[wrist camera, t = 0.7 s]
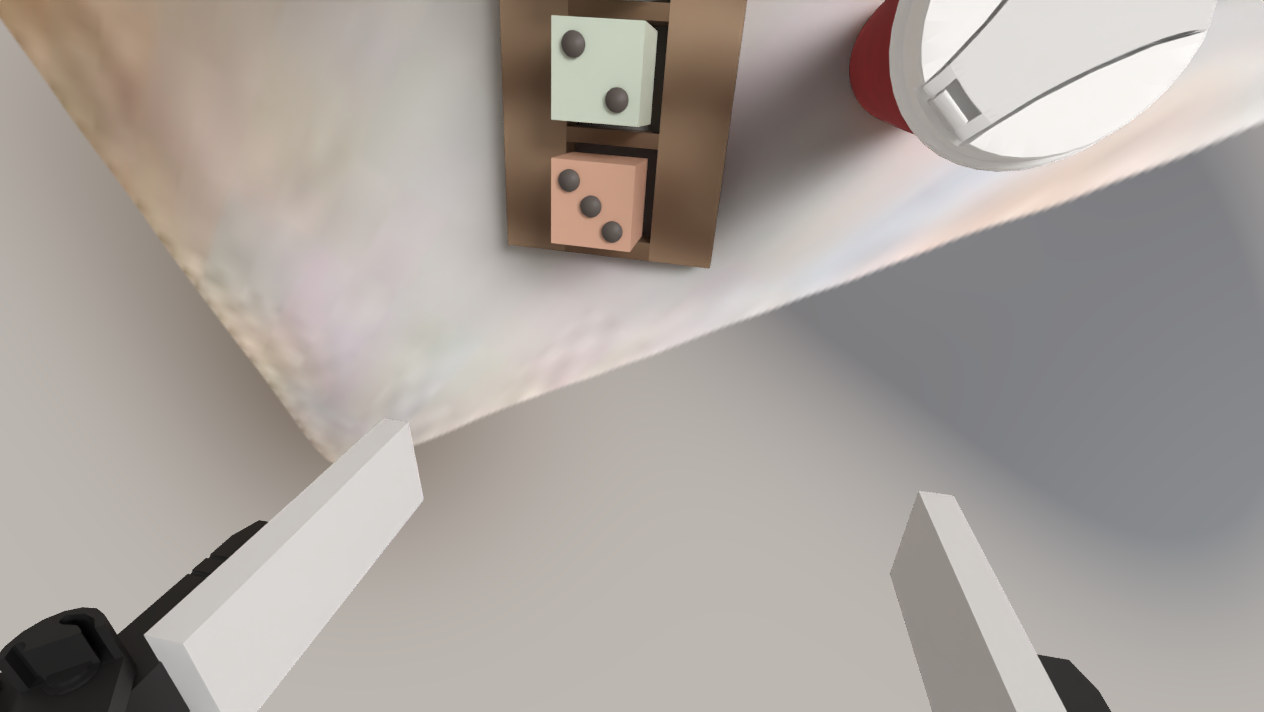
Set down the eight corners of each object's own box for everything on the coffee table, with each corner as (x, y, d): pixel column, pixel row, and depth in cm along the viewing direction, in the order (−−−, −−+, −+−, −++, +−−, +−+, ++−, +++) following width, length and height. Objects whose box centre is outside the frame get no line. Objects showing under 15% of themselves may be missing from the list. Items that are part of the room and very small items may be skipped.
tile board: (509, -152, 27) (493, -169, 25) (767, -148, 25) (769, -167, 24) (519, 237, 36) (507, 244, 34) (711, 259, 34) (709, 268, 32)
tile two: (575, 26, 28) (550, 14, 24) (657, 31, 27) (644, 19, 24) (573, 117, 30) (549, 119, 26) (650, 124, 29) (637, 127, 25)
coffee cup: (884, 175, 30) (999, 232, 17) (794, 60, 29) (842, 22, 15) (1033, 56, 27) (1324, 10, 13) (940, -83, 25) (1165, -291, 12)
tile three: (572, 151, 31) (549, 158, 27) (647, 158, 30) (634, 166, 26) (571, 227, 33) (549, 243, 29) (641, 235, 32) (629, 253, 28)
